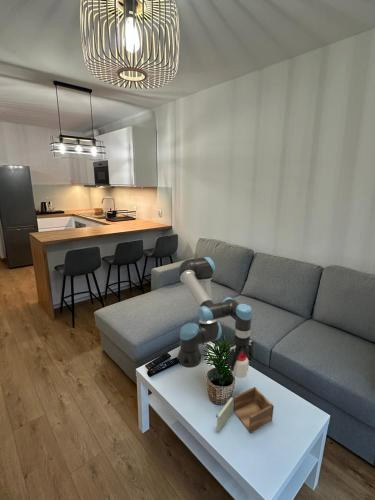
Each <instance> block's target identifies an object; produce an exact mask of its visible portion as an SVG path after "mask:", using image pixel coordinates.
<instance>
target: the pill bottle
mask: <svg viewBox="0 0 375 500" xmlns="http://www.w3.org/2000/svg"><path fill="white" fill-rule="evenodd" d="M235 365H236V372H235V376H234V377H236V378H239V379H242V378H246V377H247V375H248V371H247V369H248V370H249V366H248V358H247V357H246V354H245V353H244V351H242V352H241V353H240V355H239V356H238V358H237V361H236V363H235Z"/></svg>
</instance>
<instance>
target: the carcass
mask: <svg viewBox="0 0 375 500" xmlns="http://www.w3.org/2000/svg"><path fill="white" fill-rule="evenodd" d="M274 406H275V405H273V403H271V401H269V400H268V399H267V398H266V396H264V394H263V393H262V392H261V391H260V390H259V389H258V388H257V387H256V386H254V387H251V388H250V389H248V390H245V391H243V392H242V393H240V394H237V395H235V396H233V411H232V413H234V415H235V416H236V417H237V418H238V419H239V421H240V422H241V423H242V424H243V425H244V427H245V428H246V430H247V431H248V432H249V434H251V433H253V432H255V431H256V430H259V429H260V428H262V427H264V426H265V425H268V423H271V422H272V421H273V415H274Z"/></svg>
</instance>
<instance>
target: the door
mask: <svg viewBox="0 0 375 500" xmlns="http://www.w3.org/2000/svg"><path fill="white" fill-rule="evenodd" d="M233 403H234V397H232V396H231V397H230V398H228V400H227V402H226V403H225V405H224V406H223V407H222V409H221V410H220V411H219V412H218V413H216V415H215V417H216V419H217V420H216V431H217V432H220V431H221V430H222V429H223V427H224V425H225V424H226V422H227V420H229V418H230V417H231V415H232V414H233Z"/></svg>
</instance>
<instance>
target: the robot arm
mask: <svg viewBox="0 0 375 500" xmlns="http://www.w3.org/2000/svg"><path fill="white" fill-rule="evenodd" d="M215 273H216V266H215V262H214V261H213V260H212V258H211V257H209V256H205V257H195V258H190V259H189V258H188V259H186V260H185V259H184V261H182V262H181V264H180V265H179V267H178V270H177V275H178V276H177V277H178V278H179V280H180V282H181V283H183V284H184V285H185V286H186V288H187V290H188V292H189V293H190V295H191V296H192V298H193V300H194V301H195V304H196V305H197V306H198V309H197V310H198V311H197V313H198V318H199V321H198V323H199V324H197V323H195V322H193V323H192V322H189V323H185V324H183V325H182V326H181V328H180V330H179V331H180V332H179V344H180V345H179V348H180V349H179V351H178V354H177V360H178V359H179V362H180V363H179V362H178V363H179V365H180V366H183V367H186V368H193V367H197V366H198V365H200V363H201V362H202V354H201V351H200V348H199V345H203V344H207V343H210V342H215V341H216V340H219V339H221V337H222V333H223V331H222V330H223V329H222V325H221V323H220V321H218V320H219V319H224V318H228V317H231V318H232V319H233V320H235V321H234V323H235V324H234V337H233V338H234V339H233V340H234V345H233V346H229V348H228V350H229V351H228V357H227V361H226V364H227V365H228V366H229V367H230V368H229V369H230V372H231V371H232V374H233V375H232V374H231V375H232V376H233V377H236V376H235V372H236V365H235V363H236V361H237V358H238V356H239V355H240V353H241V352H244V353H245V354H246V357H247V358H248V367H249V365H250V363H251V361H252V360H253V359H252V358H254V341H253V340H252V339H250V338H251V336H250V335H251V329H252V319H253V309H252V306H251V305H248V304H247V303H239V302H238V301H237V300H235V299H234V298H232V297H230V296H228V297H225V298H224V299H223V300H222V301H221V302H217V303H214V302H213V300H214V299H213V291H212V284H211V280H212V279H213V278H214V277H213V275H214V274H215ZM248 371H249V368H248V369H247V372H248Z"/></svg>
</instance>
